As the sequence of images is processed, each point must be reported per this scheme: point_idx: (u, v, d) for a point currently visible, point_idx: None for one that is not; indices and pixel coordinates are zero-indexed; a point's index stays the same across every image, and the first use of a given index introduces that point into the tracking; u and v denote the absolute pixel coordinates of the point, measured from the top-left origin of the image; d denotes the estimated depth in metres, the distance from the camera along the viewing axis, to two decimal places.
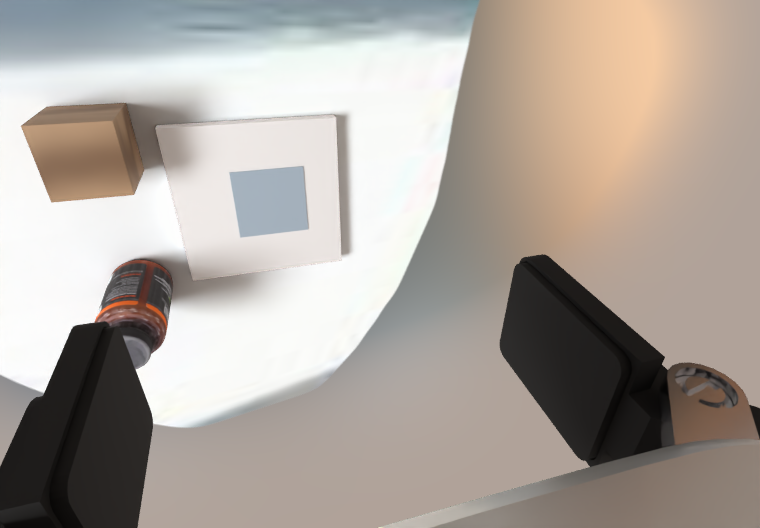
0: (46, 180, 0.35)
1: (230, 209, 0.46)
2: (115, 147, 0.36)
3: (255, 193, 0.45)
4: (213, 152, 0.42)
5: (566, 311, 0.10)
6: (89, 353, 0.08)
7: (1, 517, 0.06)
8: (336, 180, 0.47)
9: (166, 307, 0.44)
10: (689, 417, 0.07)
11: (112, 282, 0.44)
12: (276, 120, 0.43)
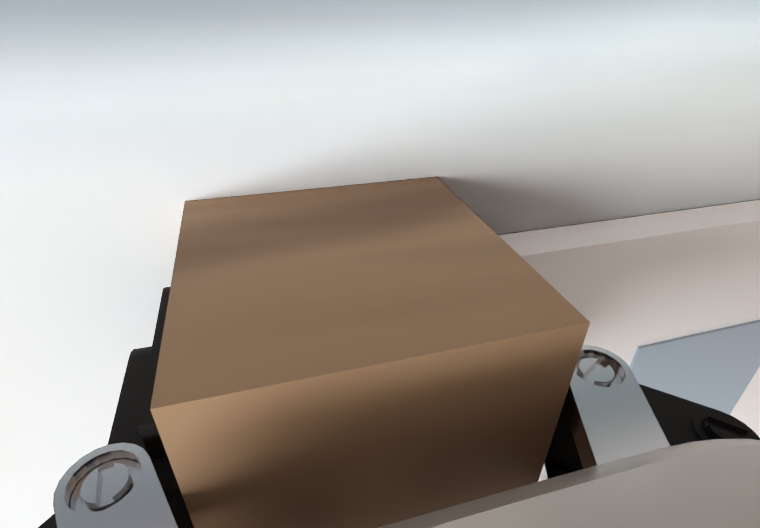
0: None
1: None
2: (543, 418, 0.08)
3: (666, 384, 0.18)
4: (629, 303, 0.15)
5: None
6: None
7: (141, 432, 0.07)
8: None
9: None
10: (592, 403, 0.08)
11: None
12: None
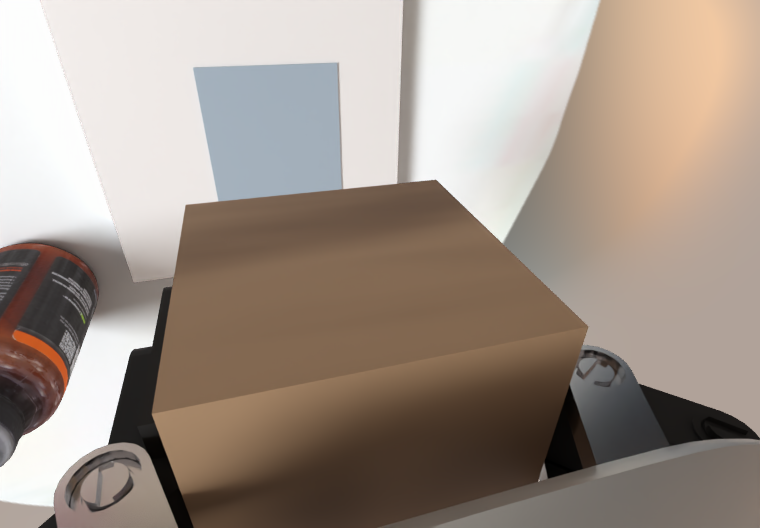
0: None
1: (198, 146, 0.24)
2: (541, 422, 0.08)
3: (245, 115, 0.24)
4: (157, 19, 0.21)
5: None
6: None
7: (141, 432, 0.07)
8: (396, 96, 0.25)
9: (70, 335, 0.22)
10: (591, 403, 0.08)
11: None
12: None
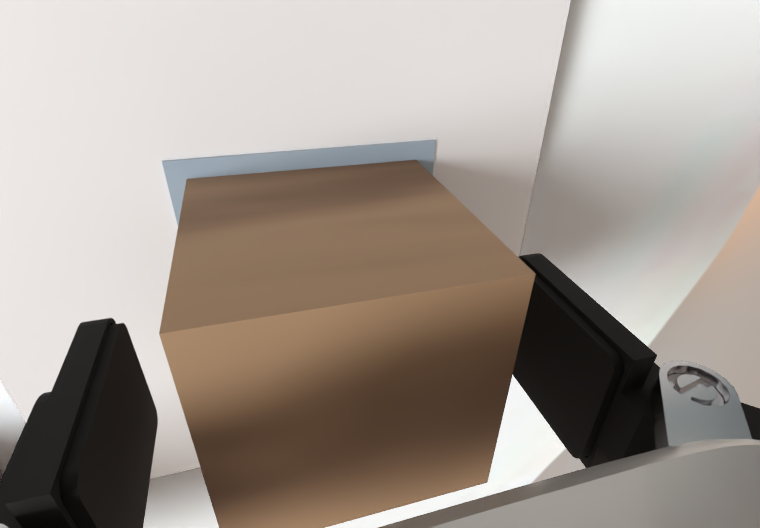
0: (225, 501, 0.09)
1: None
2: (500, 363, 0.09)
3: None
4: (82, 70, 0.10)
5: (560, 309, 0.10)
6: (96, 349, 0.08)
7: (12, 509, 0.06)
8: (527, 189, 0.14)
9: None
10: (682, 415, 0.07)
11: None
12: None
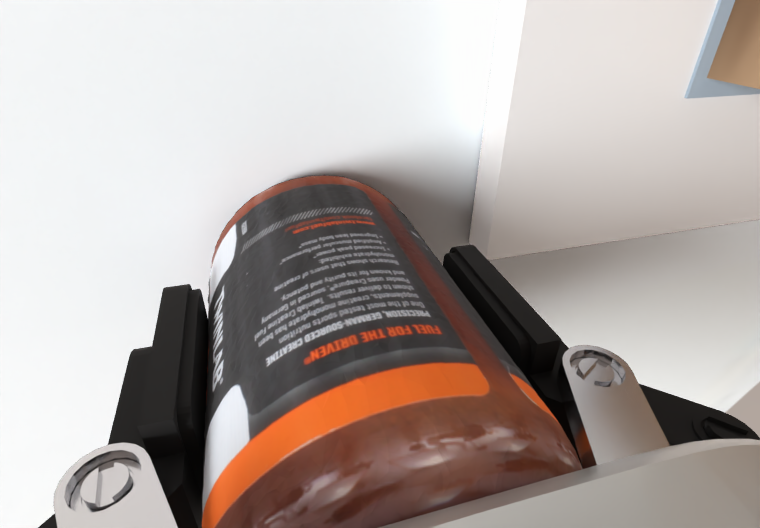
0: None
1: None
2: None
3: None
4: None
5: (482, 297, 0.10)
6: (183, 309, 0.09)
7: (141, 432, 0.07)
8: None
9: None
10: (591, 403, 0.08)
11: (255, 257, 0.09)
12: None
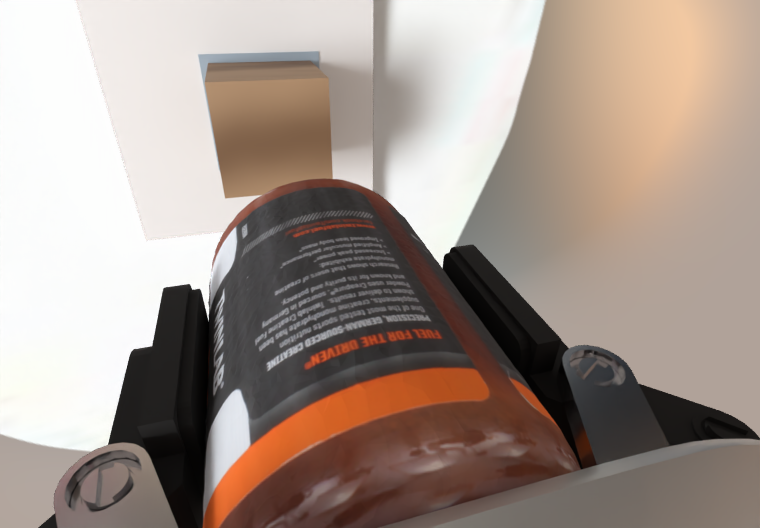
0: (224, 166, 0.24)
1: (202, 121, 0.28)
2: (324, 118, 0.24)
3: None
4: (169, 13, 0.25)
5: (481, 298, 0.10)
6: (183, 309, 0.09)
7: (142, 432, 0.07)
8: (370, 80, 0.30)
9: None
10: (591, 403, 0.08)
11: (255, 260, 0.09)
12: None
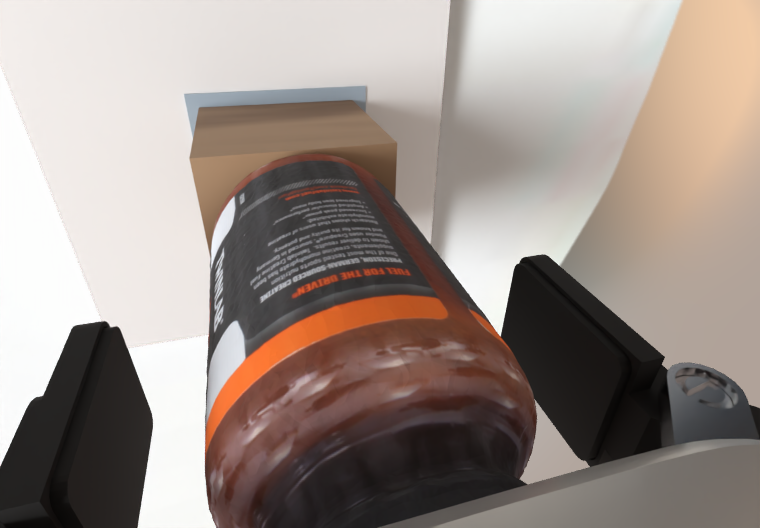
0: None
1: (191, 190, 0.19)
2: None
3: None
4: (137, 33, 0.16)
5: (566, 311, 0.10)
6: (89, 353, 0.08)
7: (1, 517, 0.06)
8: (436, 125, 0.21)
9: None
10: (689, 417, 0.07)
11: (251, 221, 0.10)
12: None
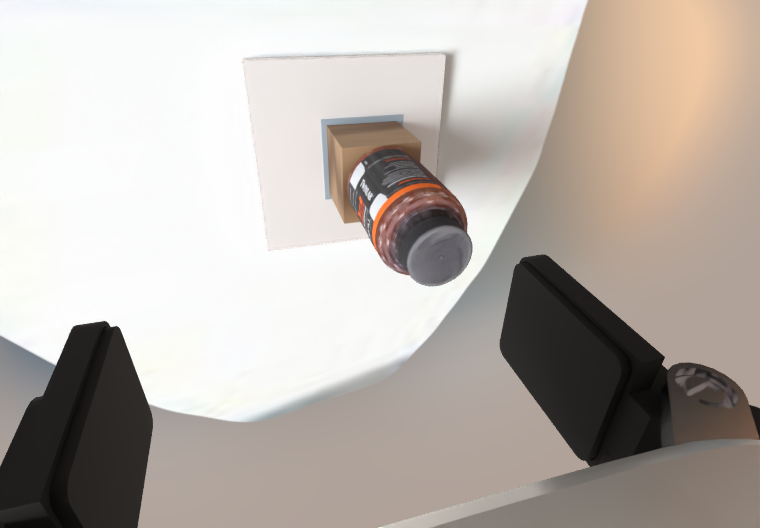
0: (346, 202, 0.35)
1: (317, 165, 0.39)
2: None
3: None
4: (305, 93, 0.36)
5: (566, 311, 0.10)
6: (89, 353, 0.08)
7: (1, 517, 0.06)
8: (437, 133, 0.41)
9: None
10: (689, 417, 0.07)
11: (374, 168, 0.30)
12: (378, 56, 0.36)
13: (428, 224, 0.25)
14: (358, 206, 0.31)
